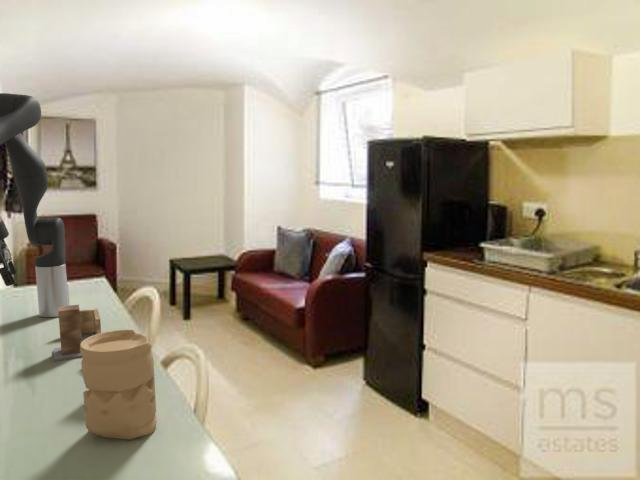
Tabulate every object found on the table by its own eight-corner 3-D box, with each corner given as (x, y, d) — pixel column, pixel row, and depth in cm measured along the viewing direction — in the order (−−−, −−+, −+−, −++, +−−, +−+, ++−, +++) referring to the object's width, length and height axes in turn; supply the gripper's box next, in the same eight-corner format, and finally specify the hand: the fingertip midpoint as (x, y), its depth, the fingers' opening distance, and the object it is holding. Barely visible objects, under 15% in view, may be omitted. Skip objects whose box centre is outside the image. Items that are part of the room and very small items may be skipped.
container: (141, 408, 107) (136, 325, 105) (167, 431, 98) (163, 340, 95) (77, 429, 99) (70, 338, 97) (99, 456, 90) (92, 357, 87)
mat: (54, 350, 142) (53, 348, 142) (89, 345, 146) (89, 343, 146) (53, 361, 134) (53, 359, 134) (91, 355, 138) (91, 353, 138)
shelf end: (68, 347, 144) (66, 323, 143) (67, 334, 156) (66, 311, 155) (101, 342, 148) (100, 319, 147) (99, 330, 159) (97, 308, 158)
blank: (61, 355, 136) (58, 311, 135) (61, 349, 141) (58, 306, 139) (82, 352, 139) (79, 309, 137) (81, 346, 143) (78, 304, 141)
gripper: (0, 225, 126) (26, 283, 132) (3, 212, 138) (27, 266, 144) (-35, 235, 123) (-6, 293, 130) (-28, 221, 136) (-2, 276, 142)
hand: (11, 279), depth 137 cm, fingers open, 8 cm apart
